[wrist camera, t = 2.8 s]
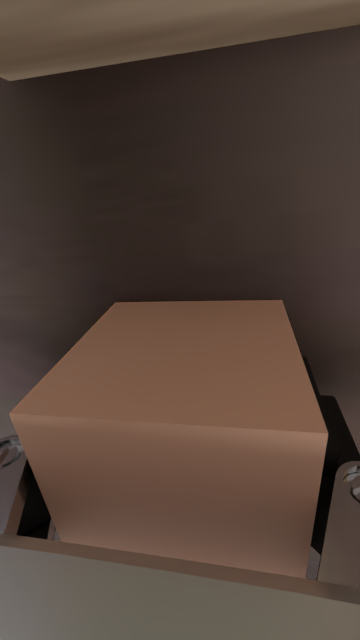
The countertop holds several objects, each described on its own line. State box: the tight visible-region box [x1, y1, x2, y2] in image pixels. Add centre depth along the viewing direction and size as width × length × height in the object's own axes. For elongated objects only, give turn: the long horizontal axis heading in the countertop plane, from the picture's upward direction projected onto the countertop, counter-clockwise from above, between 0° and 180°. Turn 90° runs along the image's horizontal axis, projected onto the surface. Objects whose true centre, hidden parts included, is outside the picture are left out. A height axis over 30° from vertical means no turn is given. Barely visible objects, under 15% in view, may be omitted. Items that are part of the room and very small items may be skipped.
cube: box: [9, 300, 328, 579], centre depth 10 cm, size 6×6×6 cm
